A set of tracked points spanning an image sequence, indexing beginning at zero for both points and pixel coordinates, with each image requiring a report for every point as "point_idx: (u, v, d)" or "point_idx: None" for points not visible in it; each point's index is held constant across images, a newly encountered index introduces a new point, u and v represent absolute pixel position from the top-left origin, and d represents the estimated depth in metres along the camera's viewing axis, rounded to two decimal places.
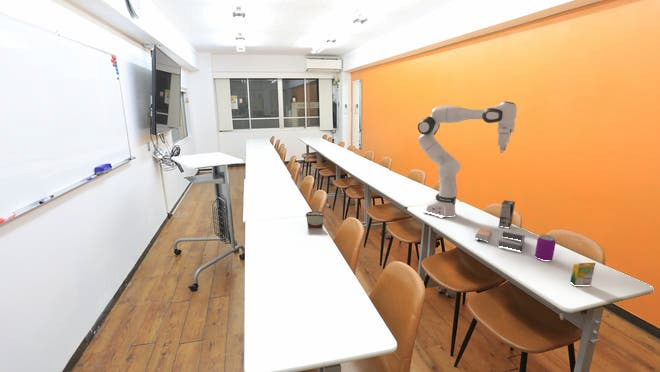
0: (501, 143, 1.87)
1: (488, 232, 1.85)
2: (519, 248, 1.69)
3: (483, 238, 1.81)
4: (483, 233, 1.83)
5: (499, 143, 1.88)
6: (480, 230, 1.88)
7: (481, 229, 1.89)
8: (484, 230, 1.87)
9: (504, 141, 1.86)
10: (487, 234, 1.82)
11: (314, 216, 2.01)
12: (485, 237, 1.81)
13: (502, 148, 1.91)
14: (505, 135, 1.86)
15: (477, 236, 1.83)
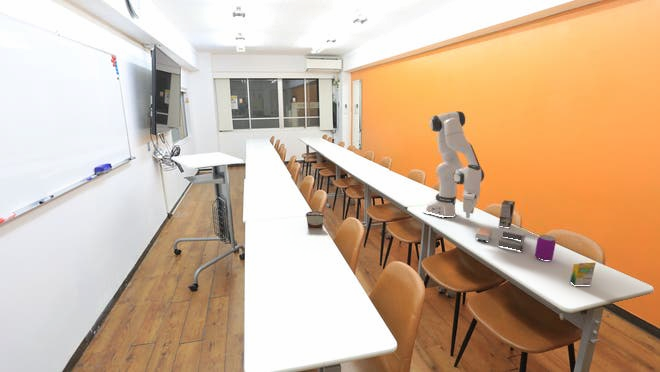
0: (466, 210, 1.79)
1: (488, 232, 1.85)
2: (519, 248, 1.69)
3: (483, 238, 1.81)
4: (483, 233, 1.83)
5: (464, 209, 1.79)
6: (480, 230, 1.88)
7: (481, 229, 1.89)
8: (484, 230, 1.87)
9: (469, 208, 1.78)
10: (487, 234, 1.82)
11: (314, 216, 2.01)
12: (485, 237, 1.81)
13: (468, 214, 1.82)
14: (470, 202, 1.77)
15: (477, 236, 1.83)
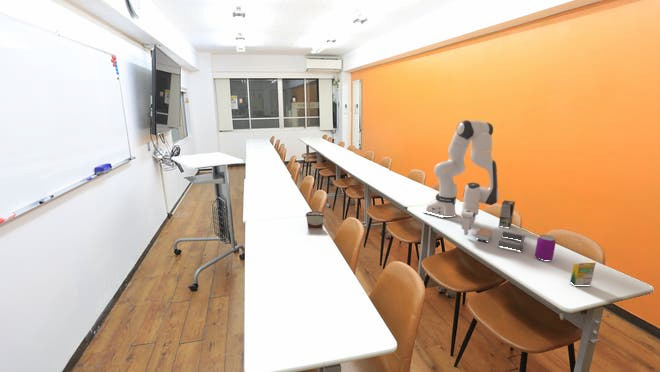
0: (464, 227, 1.82)
1: (488, 232, 1.85)
2: (519, 248, 1.69)
3: (483, 238, 1.81)
4: (483, 233, 1.83)
5: (462, 227, 1.82)
6: (480, 230, 1.88)
7: (481, 229, 1.89)
8: (484, 230, 1.87)
9: (467, 226, 1.81)
10: (487, 234, 1.82)
11: (314, 216, 2.01)
12: (485, 237, 1.81)
13: (466, 231, 1.85)
14: (468, 220, 1.80)
15: (477, 236, 1.83)
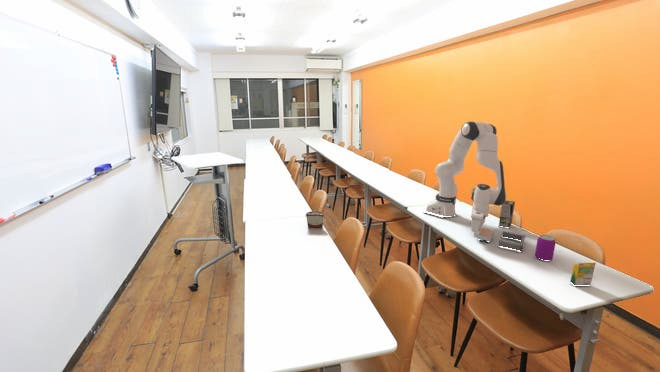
0: (474, 229, 1.78)
1: (490, 232, 1.84)
2: (519, 248, 1.69)
3: (485, 238, 1.81)
4: (485, 233, 1.83)
5: (472, 229, 1.79)
6: (482, 230, 1.87)
7: (483, 229, 1.88)
8: (486, 230, 1.87)
9: (477, 228, 1.77)
10: (489, 234, 1.81)
11: (314, 216, 2.01)
12: (487, 237, 1.80)
13: (476, 233, 1.82)
14: (478, 222, 1.77)
15: (479, 236, 1.82)
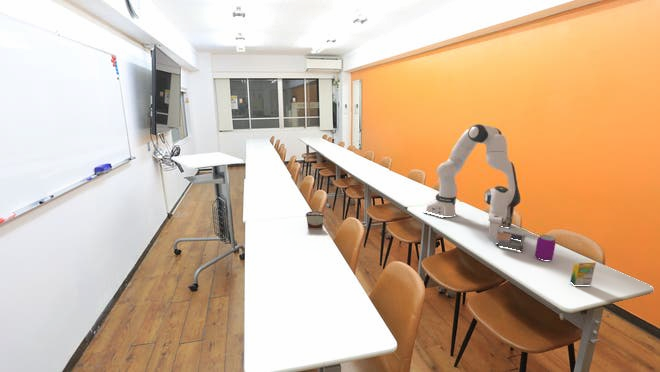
0: (492, 233, 1.73)
1: (508, 236, 1.79)
2: (519, 248, 1.69)
3: None
4: (503, 237, 1.77)
5: (490, 233, 1.74)
6: (499, 234, 1.82)
7: (500, 233, 1.83)
8: (503, 234, 1.82)
9: (495, 231, 1.72)
10: (507, 238, 1.76)
11: (314, 216, 2.01)
12: None
13: (493, 237, 1.77)
14: (496, 225, 1.72)
15: (496, 240, 1.77)
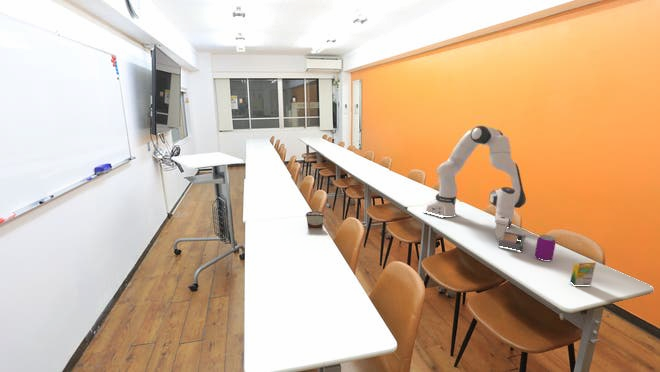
0: (499, 235, 1.72)
1: (514, 238, 1.77)
2: (519, 248, 1.69)
3: None
4: (509, 239, 1.76)
5: (496, 234, 1.72)
6: (505, 235, 1.80)
7: (506, 234, 1.81)
8: (510, 235, 1.80)
9: (502, 233, 1.71)
10: (513, 240, 1.74)
11: (314, 216, 2.01)
12: None
13: (500, 238, 1.75)
14: (503, 227, 1.70)
15: None
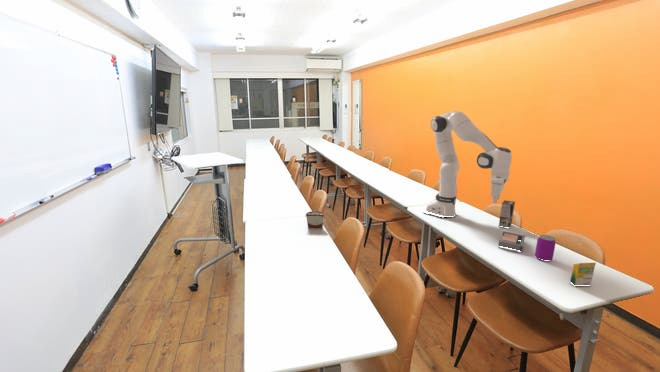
0: (494, 194, 1.69)
1: (514, 238, 1.77)
2: (519, 248, 1.69)
3: None
4: (509, 239, 1.76)
5: (492, 194, 1.70)
6: (506, 235, 1.80)
7: (506, 234, 1.81)
8: (510, 236, 1.80)
9: (497, 192, 1.68)
10: (514, 240, 1.74)
11: (314, 216, 2.01)
12: None
13: (495, 199, 1.73)
14: (499, 186, 1.68)
15: None
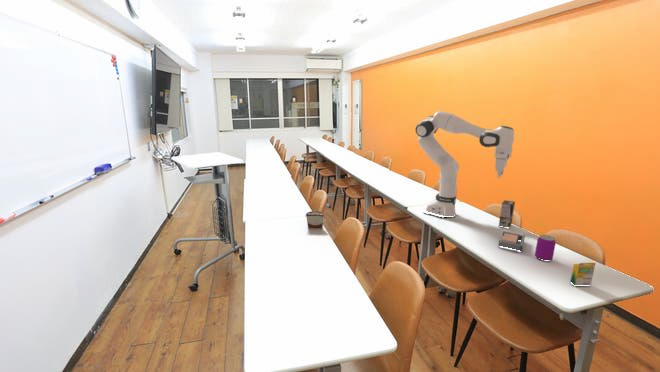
0: (498, 169, 1.84)
1: (514, 238, 1.77)
2: (519, 248, 1.69)
3: None
4: (509, 239, 1.76)
5: (496, 168, 1.84)
6: (506, 235, 1.80)
7: (506, 234, 1.81)
8: (510, 236, 1.80)
9: (501, 167, 1.83)
10: (514, 240, 1.74)
11: (314, 216, 2.01)
12: None
13: (499, 173, 1.88)
14: (502, 161, 1.82)
15: None
